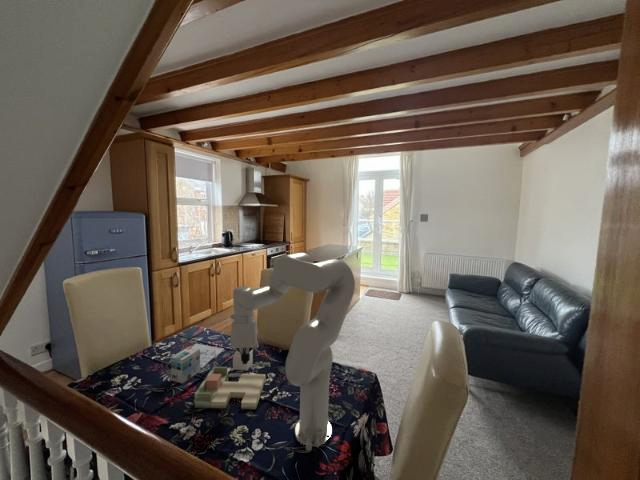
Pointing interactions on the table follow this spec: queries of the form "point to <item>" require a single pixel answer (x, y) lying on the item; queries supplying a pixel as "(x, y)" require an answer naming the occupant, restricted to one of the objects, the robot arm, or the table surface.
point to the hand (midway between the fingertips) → (245, 362)
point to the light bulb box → (185, 364)
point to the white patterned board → (207, 353)
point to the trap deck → (231, 390)
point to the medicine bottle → (238, 363)
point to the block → (213, 382)
